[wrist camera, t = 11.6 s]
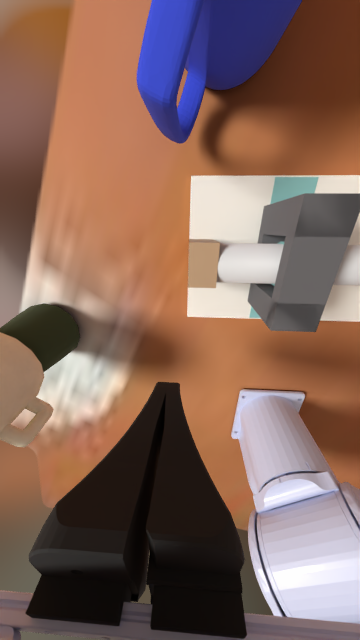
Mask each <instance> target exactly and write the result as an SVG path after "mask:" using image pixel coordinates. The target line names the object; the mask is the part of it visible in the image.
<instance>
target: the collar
mask: <svg viewBox="0 0 360 640" xmlns="http://www.w3.org/2000/svg"><path fill="white" fill-rule="evenodd" d="M359 213H360V193H305V194H301V195H298V196H295V197H292V198H289V199H285V200H282V201H279V202H276V203H273V204H270V205H266V206H264V209H263V215H262V220H261V226H260V232H259V238H258V243H257V244H277V243H279V242H284V246H283V251H282V255H281V259H280V264H279V268H278V272H277V277H276V281H275V285H274V286H273V285H272V284H265V283H251V284H250V289H249V295H248V302H249V304H250V305H251V306H252V307H253V309H254V310H255V311H256V312H257V314H258V315H259V316H260V317H261V319H262V320H263V321H264V323H265V324H266V325H267V326H268V328H269V329H270V330H272V331H303V332H316V330H317V327H318V324H319V322H320V319H321V316H322V313H323V311H324V308H325V305H326V303H327V300H328V297H329V294H330V292H331V289H332V286H333V284H334V281H335V278H336V275H337V273H338V270H339V267H340V264H341V262H342V259H343V256H344V254H345V251H346V248H347V245H348V243H349V240H350V237H351V235H352V232H353V229H354V226H355V224H356V221H357V218H358V216H359Z"/></svg>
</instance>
